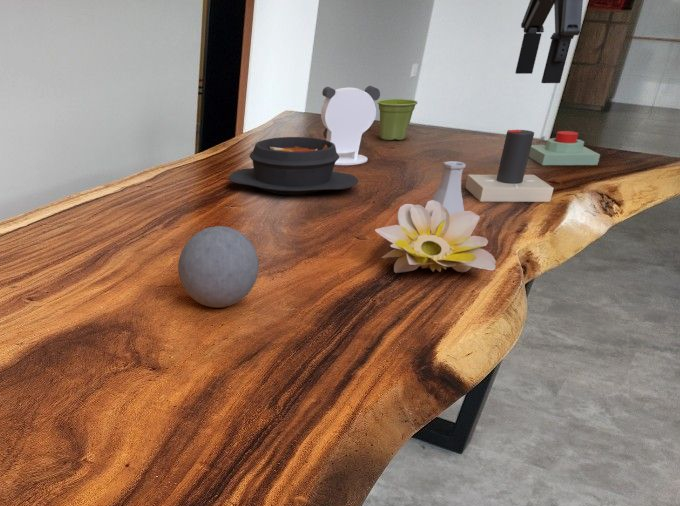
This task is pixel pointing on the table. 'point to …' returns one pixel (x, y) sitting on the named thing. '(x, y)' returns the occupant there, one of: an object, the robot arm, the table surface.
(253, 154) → the casserole
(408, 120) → the plant pot
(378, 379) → the table surface
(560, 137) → the push knob
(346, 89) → the panda figurine
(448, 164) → the flask
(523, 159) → the dial
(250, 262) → the decorative ball
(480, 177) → the dial panel
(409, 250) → the decorative flower
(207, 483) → the table surface
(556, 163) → the button housing
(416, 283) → the table surface
